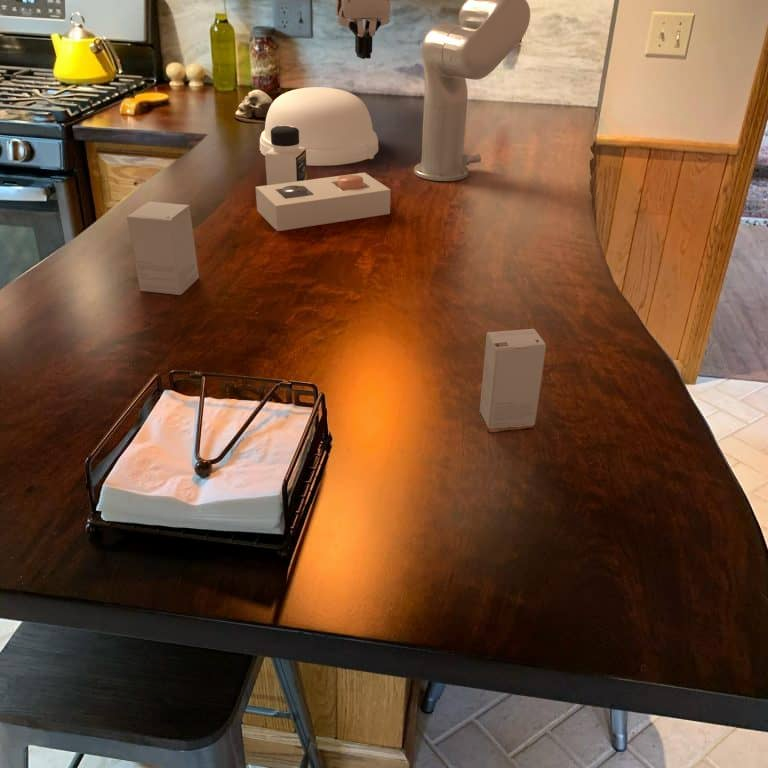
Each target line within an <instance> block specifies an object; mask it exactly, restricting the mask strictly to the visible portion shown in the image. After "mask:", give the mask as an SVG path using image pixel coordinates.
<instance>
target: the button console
mask: <svg viewBox="0 0 768 768" xmlns="http://www.w3.org/2000/svg"><path fill="white" fill-rule="evenodd" d="M343 175H344V174H343ZM343 175H336V176H335V175H334V176H329V177H322V178H321V177H319V178H313V179H305V180H304V181H296V182H289V183H281V184H273V185H267V184H266V185H259V186H255V197H256V198H255V199H256V211H257V212H258V213H259V215H260V216H262V217H263V219H264V220H265V221H266V222H268V223H269V225H270V226H271V227H272V228H273V229H274V230H276V231H277V232H282V231H283V232H284V231H289V230H295V229H300V228H306V227H307V228H308V227H314V226H319V225H326V224H333V223H338V222H346V221H351V220H358V219H364V218H365V219H366V218H372V217H378V216H384V215H389V214H390V215H391V189H390V188H389V187H388V186H386V185H384V184H383V183H381V182H380V181H378V180H377V179H375V178H373V176H370V175H369V174H368V173H367V172H358V173H351V174H349V175H357V176H361V177H362V178H363V188H360V189H353V190H345V191H343V190H341V189H340V188H339V187H338V178H339V177H340V176H343ZM294 185H296V186H303V187H306V188H307V191H308V196H302V197H295V198H288V199H285V198H284V197H283V196H282V188H284V187H287V186H294Z"/></svg>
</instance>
